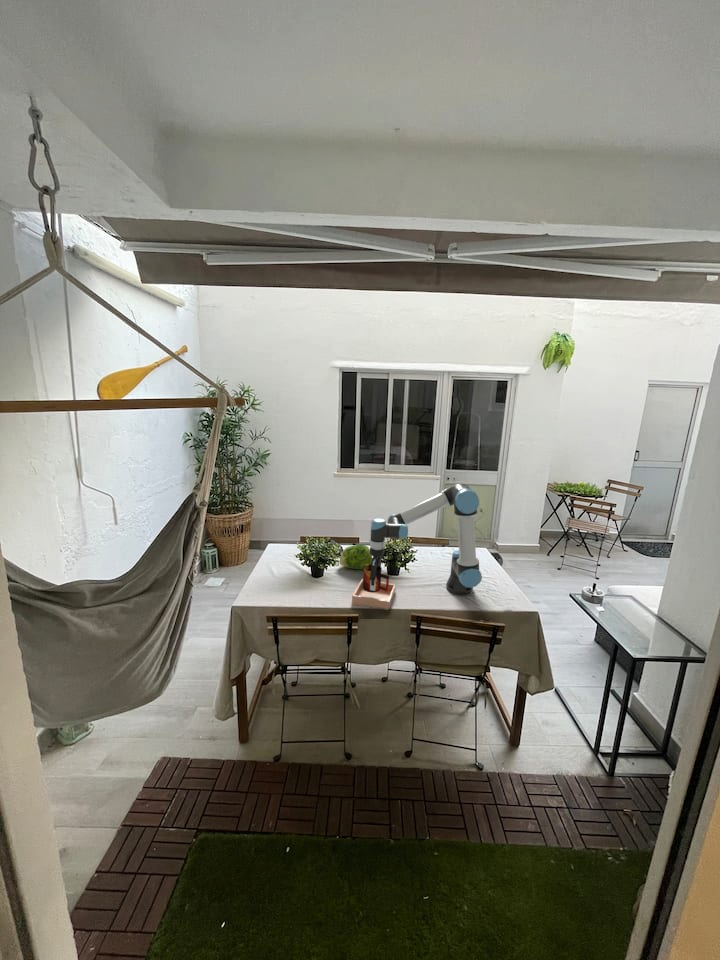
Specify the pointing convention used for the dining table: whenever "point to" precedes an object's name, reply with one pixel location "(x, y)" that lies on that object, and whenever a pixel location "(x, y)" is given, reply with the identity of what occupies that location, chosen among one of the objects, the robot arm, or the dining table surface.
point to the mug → (378, 578)
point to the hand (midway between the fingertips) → (374, 585)
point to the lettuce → (356, 557)
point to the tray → (374, 596)
